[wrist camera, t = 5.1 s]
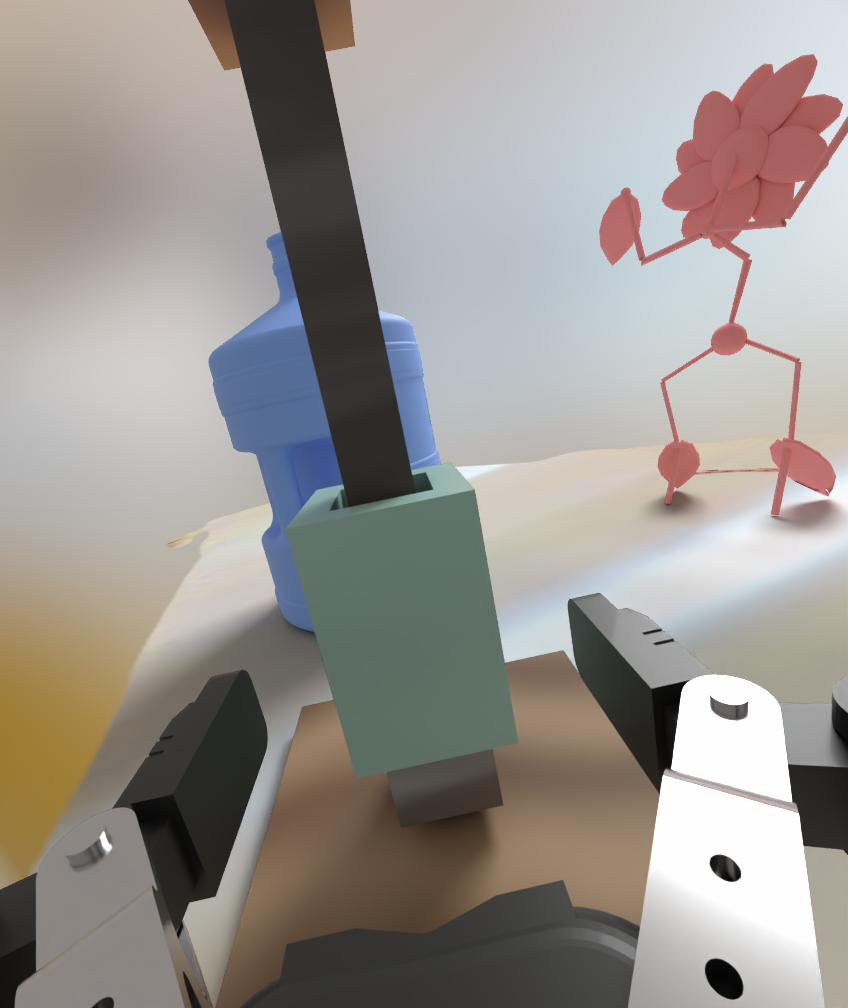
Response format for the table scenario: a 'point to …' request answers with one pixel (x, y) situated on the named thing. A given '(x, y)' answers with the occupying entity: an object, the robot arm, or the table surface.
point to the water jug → (302, 416)
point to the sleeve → (406, 622)
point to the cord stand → (374, 477)
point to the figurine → (741, 220)
